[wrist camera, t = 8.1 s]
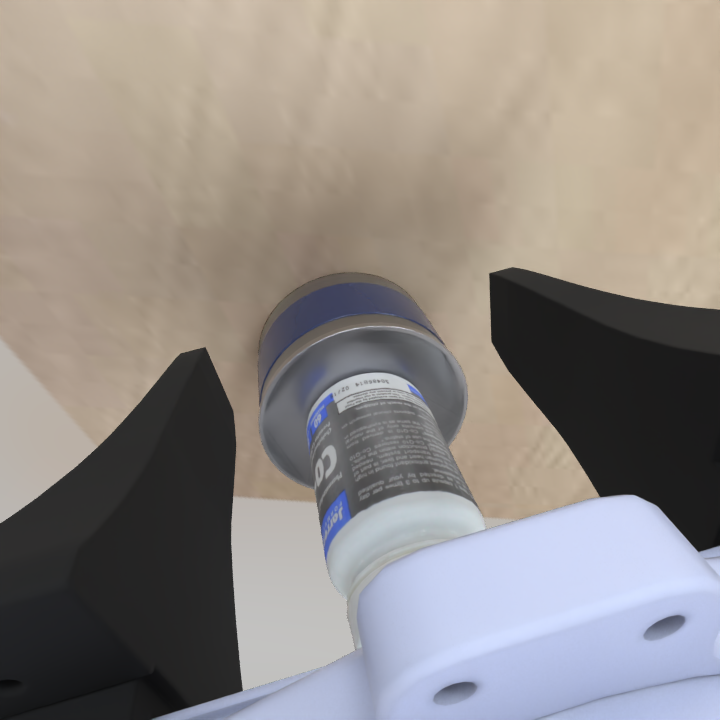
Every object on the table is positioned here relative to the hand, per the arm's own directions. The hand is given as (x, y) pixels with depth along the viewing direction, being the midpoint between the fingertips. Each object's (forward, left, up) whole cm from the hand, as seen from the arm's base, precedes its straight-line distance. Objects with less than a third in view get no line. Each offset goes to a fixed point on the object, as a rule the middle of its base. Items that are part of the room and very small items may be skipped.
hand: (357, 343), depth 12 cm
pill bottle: (-3, -5, -4) cm, 7 cm away
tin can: (-3, -5, -9) cm, 11 cm away
